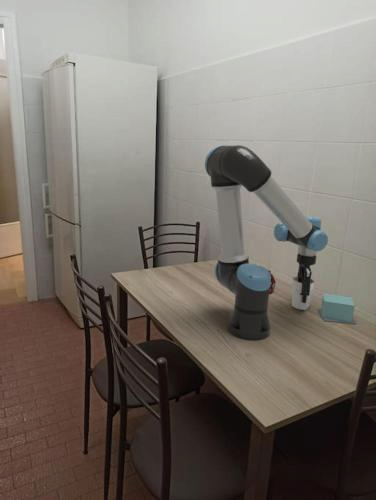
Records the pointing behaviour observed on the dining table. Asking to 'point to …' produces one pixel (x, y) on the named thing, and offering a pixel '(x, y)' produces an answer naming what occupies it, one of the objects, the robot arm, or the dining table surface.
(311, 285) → the cup
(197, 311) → the dining table surface
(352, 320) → the base mat
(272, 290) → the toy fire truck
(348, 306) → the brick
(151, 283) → the dining table surface
